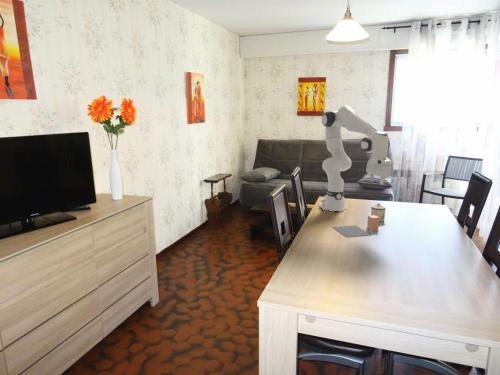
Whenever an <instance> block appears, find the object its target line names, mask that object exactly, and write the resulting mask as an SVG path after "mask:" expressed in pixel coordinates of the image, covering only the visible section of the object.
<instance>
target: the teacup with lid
mask: <svg viewBox="0 0 500 375" xmlns="http://www.w3.org/2000/svg"><path fill="white" fill-rule="evenodd" d="M370 210H371V211H370V216H371V215H375V216H377V217H379V223H381V222H382V223H383V222H384V221H385V216H386V207H385V205H383V204H381V203H380V202H376V204H373V205H371V209H370Z"/></svg>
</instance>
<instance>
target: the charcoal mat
mask: <svg viewBox="0 0 500 375" xmlns="http://www.w3.org/2000/svg"><path fill="white" fill-rule="evenodd" d="M332 229H334V230H335V231H336V232H338V233H340V234H341V235H342V236H344V237H345V238H351V237H352V238H353V237H355V238H356V237H367V236H372V234H370V233H369V232H367V231H365V230H364V229H362V228H361V227H359V226H358V225H342V226H341V225H340V226H332Z"/></svg>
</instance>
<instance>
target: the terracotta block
mask: <svg viewBox="0 0 500 375" xmlns="http://www.w3.org/2000/svg"><path fill="white" fill-rule="evenodd" d="M379 224H380V222H379V217H377V216H375V215H371V214H370V215H367V225H366V226H367V227H366V228H367V229H368V230H370V231H379V226H380V225H379Z"/></svg>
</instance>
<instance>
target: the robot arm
mask: <svg viewBox="0 0 500 375" xmlns="http://www.w3.org/2000/svg"><path fill="white" fill-rule="evenodd" d="M321 123H322V125H323V126H324V127H325V128H324V129H325V130H324V131H325V132H324V134H325V143H326V149H327V151H328V152H329V153H330V154H331V157H328V158H326V159H324V160H323V161H322V164H321V167H322V170H323V171H324V172H325V173H326V176H327V189H326V194H325V195H324V196H323V197H322V199H321V200H320V202H321V203H320V202H319V203H318V206H319V208H322V209H323V211H328V210H329V211H328V212H334V211H339V212H344V211H345V210H347V207H346V198H345V197H344V196H345V191H344V185H345V180H344V179H343V178H342V176H341V172H345V171H348V170H349V169H351V167H352V163H353V162H352V160H351V158H350V157H349V156H348V155H347V153H346V152H345V149H344V144H343V139H342V133H341V130H342V127H343V128H345V129H346V130H347V131H349V132H354V133H357V134H358V133H359V134H363V135H365V137H363V138H361V140H360V144H359V146H360V151H361V152H363V153H367V154H368V153H369V154H370V153H371V154H370V155H371V156H370V158H369V159H368V161H367V163H366V168H365V171H366V174H367V173H368V174H369V178H370V182H375V176H377V177H380V181H379V185H382V186H383V185H384V182H385V180H386V179H389V178H390V177H391V175H392V174H391V173H392V164H393V161H392V160H391V159H390V158H389V157H388V150H390V149H389V148H390V147H391V142H390V139H389V135H388V133H387V132H384V131H378V130H376V128H374V126H372V125H371V124H370V123H369V122H367V121H366V120H365V119H363V118H361V117H360V115H358V114H357V113H356V111H355V110H354V109H352V108H351V107H350V106H348V105H343V106H341V107H340V108H338V109H337V110H331V111H326V112H324V113H323V114H322V116H321ZM322 209H321V210H322Z"/></svg>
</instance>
